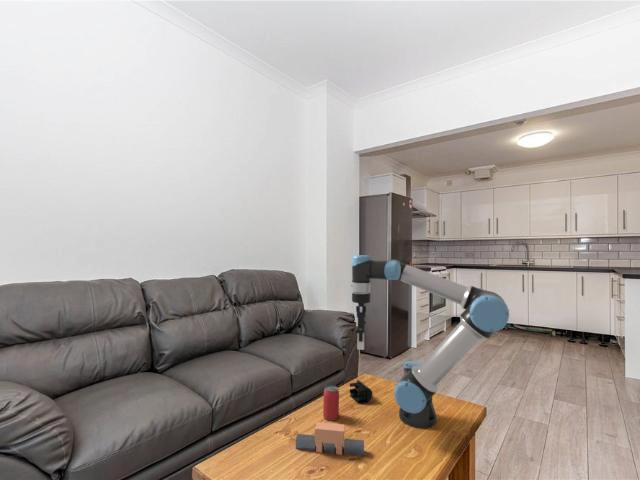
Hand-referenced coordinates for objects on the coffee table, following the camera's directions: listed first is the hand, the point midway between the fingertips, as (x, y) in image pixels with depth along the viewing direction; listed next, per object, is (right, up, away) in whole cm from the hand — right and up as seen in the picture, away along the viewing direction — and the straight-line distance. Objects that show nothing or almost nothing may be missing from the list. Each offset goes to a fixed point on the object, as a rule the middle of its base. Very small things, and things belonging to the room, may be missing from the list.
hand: (360, 344), depth 135 cm
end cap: (+2, -32, +20) cm, 38 cm away
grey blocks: (-13, -31, -19) cm, 39 cm away
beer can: (-12, -32, +3) cm, 34 cm away
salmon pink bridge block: (-13, -31, -19) cm, 39 cm away
